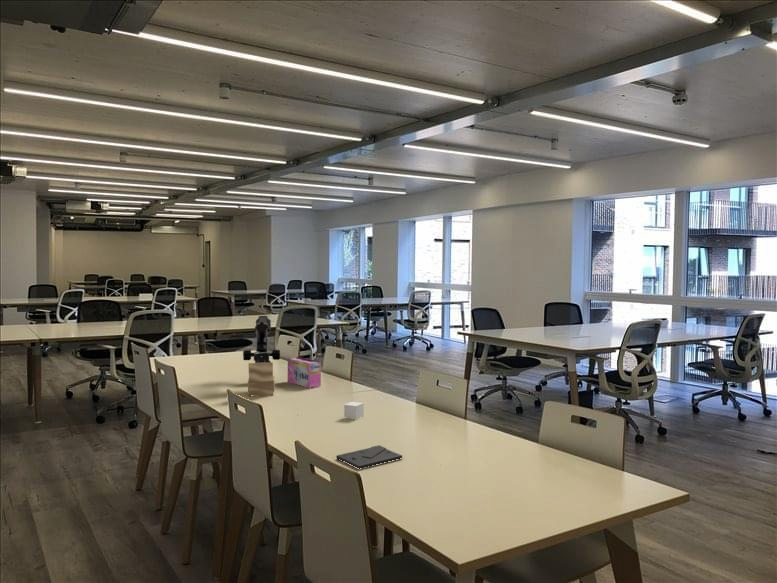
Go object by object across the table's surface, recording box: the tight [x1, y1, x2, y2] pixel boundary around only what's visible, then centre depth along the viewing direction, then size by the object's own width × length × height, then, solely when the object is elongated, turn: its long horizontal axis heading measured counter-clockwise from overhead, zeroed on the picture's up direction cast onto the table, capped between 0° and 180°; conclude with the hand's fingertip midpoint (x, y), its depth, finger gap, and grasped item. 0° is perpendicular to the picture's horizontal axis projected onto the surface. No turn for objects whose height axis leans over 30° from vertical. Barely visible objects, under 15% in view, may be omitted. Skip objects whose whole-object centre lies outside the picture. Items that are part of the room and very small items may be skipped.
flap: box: [247, 362, 274, 382], centre depth 292 cm, size 12×12×1 cm
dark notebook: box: [335, 444, 403, 469], centre depth 200 cm, size 13×2×18 cm
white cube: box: [343, 401, 365, 420], centre depth 254 cm, size 6×6×6 cm
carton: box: [247, 375, 276, 397], centre depth 302 cm, size 12×13×8 cm
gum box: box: [287, 356, 322, 389], centre depth 325 cm, size 24×8×14 cm, turn 40°
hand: (261, 368), depth 303 cm, fingers closed
